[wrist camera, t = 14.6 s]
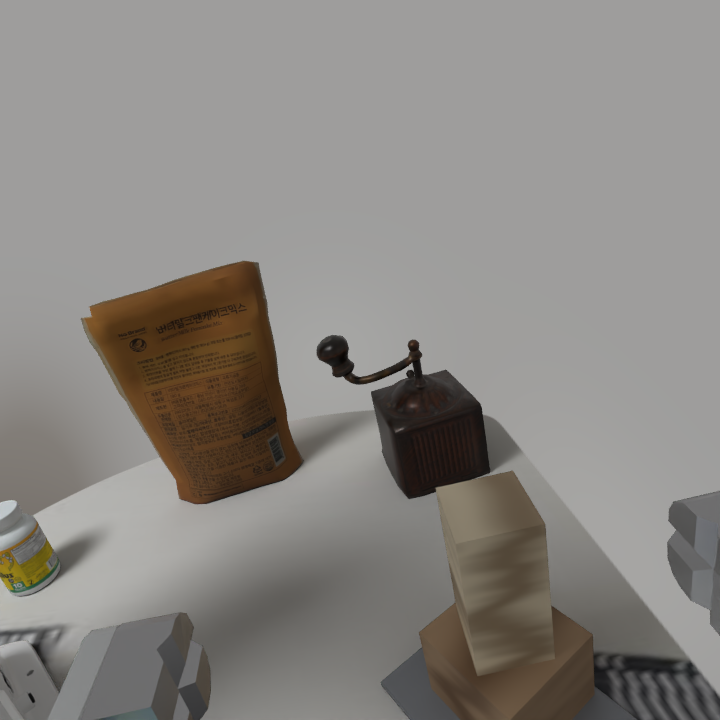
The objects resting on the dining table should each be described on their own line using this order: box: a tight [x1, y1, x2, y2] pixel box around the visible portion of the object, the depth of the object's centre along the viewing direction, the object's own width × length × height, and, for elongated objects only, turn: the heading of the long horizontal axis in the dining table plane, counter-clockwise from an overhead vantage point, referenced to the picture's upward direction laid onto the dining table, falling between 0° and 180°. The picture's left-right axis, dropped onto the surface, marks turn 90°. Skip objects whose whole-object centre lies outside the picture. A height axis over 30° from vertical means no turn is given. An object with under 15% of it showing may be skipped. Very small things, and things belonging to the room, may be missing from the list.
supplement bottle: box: [0, 500, 60, 596], centre depth 58 cm, size 5×5×10 cm
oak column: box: [436, 471, 555, 676], centre depth 34 cm, size 5×5×11 cm
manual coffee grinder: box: [317, 335, 490, 499], centre depth 61 cm, size 16×11×18 cm
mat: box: [381, 648, 637, 720], centre depth 37 cm, size 16×11×1 cm
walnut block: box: [419, 603, 595, 720], centre depth 37 cm, size 8×8×6 cm
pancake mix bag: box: [81, 261, 304, 504], centre depth 63 cm, size 7×19×28 cm, turn 103°
